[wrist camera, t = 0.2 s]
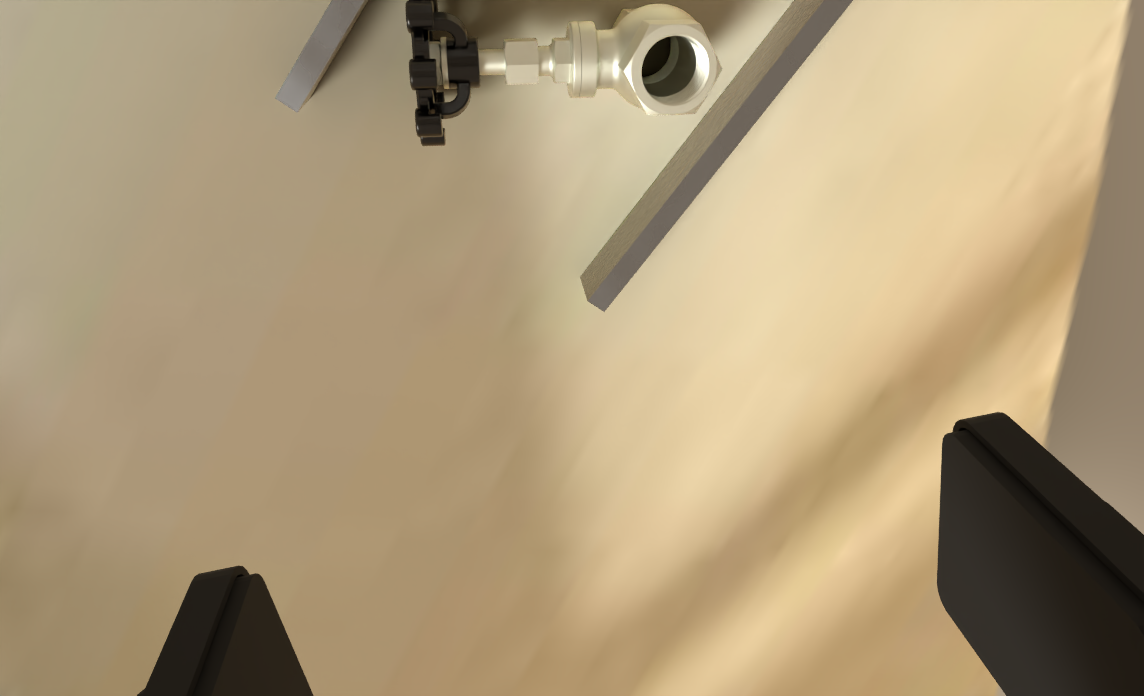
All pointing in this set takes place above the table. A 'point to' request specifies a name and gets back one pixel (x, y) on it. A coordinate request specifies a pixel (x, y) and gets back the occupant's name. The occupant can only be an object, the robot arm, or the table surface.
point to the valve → (562, 62)
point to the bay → (690, 166)
